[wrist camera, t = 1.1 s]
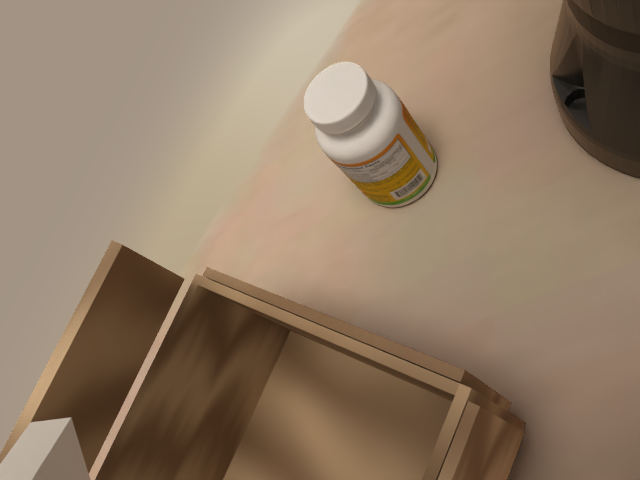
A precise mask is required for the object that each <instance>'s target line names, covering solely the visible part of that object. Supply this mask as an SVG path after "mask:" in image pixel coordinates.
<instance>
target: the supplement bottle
mask: <svg viewBox="0 0 640 480" xmlns="http://www.w3.org/2000/svg"><path fill="white" fill-rule="evenodd" d="M304 110H305V113H306V115H307V117H308V118H309V119H310V120H311V122H312V123H313V124H314V125H315V134H316V139H317V142H318V144H319V146H320V148H321V149H322V151H323V152H324V153H325V154H326V155H327V156H328V157H329V158H330V159H331V160H332V161H333V162H334V163H335V164H336V165H337V166H338V167H339V168H340V169H341V170H342V171H343V172H344V174H345V175H346V176H347V177H348V178H349V179H350V180H351V181H352V182H353V183H354V184H355V185H356V186H357V187H358V188H359V189H360V190H361V191H362V192H363V193H364V194H365V195H366V196H367V197H368V198H369V199H370V200H371V201H373V202H374V203H376V204H378V205H381V206H384V207H400V206H404V205H407V204H409V203H411V202H413V201H415V200H417V199H418V198H419V197H421V196H422V195H423V194H424V193H425V192H426V191H427V190H428V188H429V187H430V185H431V184H432V182H433V180H434V177H435V174H436V170H437V159H436V155H435V152H434V150H433V148H432V146H431V145H430V143H429V142H428V140H427V139H426V137H425V136H424V134H423V133H422V131H421V130H420V128H419V127H418V126H417V124H416V123H415V121H414V120H413V118H412V116H411V115H410V113H409V112H408V110H407V109H406V107H405V106H404V104H403V103H402V101H401V100H400V99H399V97H398V96H397V95H396V93H395V92H394V91H393V90H392V89H391V88H390V87H389V86H388V85H387V84H385V83H383V82H381V81H378V80H375V79H371V78H370V77H369V76H368V74H367V73H366V72H365V70H364V69H363V68H362V67H361V66H359V65H358V64H356V63H352V62H339V63H336V64H333V65H331V66H329V67H327V68H325V69H324V70H322V71H321V72H320V73H319V74H318V75H317V76H316V77H315V78H314V79H313V80H312V82H311V83H310V84H309V86H308V88H307V90H306V93H305V96H304Z"/></svg>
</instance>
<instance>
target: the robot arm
mask: <svg viewBox="0 0 640 480" xmlns="http://www.w3.org/2000/svg"><path fill="white" fill-rule="evenodd" d="M550 77H551V84H552V89H553V93H554V96H555V99H556V103H557V106H558V109H559V112H560V115H561V117H562V120H563V122H564V124H565V126H566V128H567V129H568V131H569V132H570V134H571V135H572V136H573V138H574V139H575V140H576V141H577V142H578V143H579V144H580V145H581V146H582V147H583V148H584V149H585V150H586V151H587V152H588V153H590V154H591V155H592V156H594V157H595V158H596V159H598V160H600V161H601V162H603V163H604V164H606V165H608V166H610V167H612V168H614V169H616V170H619V171H621V172H623V173H626V174H629V175H632V176H635V177H639V178H640V0H563V3H562V7H561V12H560V16H559V20H558V24H557V28H556V33H555V37H554V41H553V45H552V50H551V58H550ZM0 480H90V477H89V474H88V471H87V467H86V464H85V461H84V457H83V454H82V451H81V448H80V444H79V441H78V438H77V434H76V431H75V428H74V424H73V421H72V418H71V417H70V418H62V419H54V420H46V421H38V422H31V423H30V424H29V425H28V427H27V428H26V429H25V431H24V432H23V433H22V435H21V436H20V438H19V439H18V440H17V442H16V443H15V444H14V446H13V447H12V448H11V450H10V451H9V453H8V454H7V455H6V457H5V458H4V459H3V461H2V462H1V464H0Z"/></svg>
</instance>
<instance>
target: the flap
mask: <svg viewBox="0 0 640 480" xmlns="http://www.w3.org/2000/svg"><path fill="white" fill-rule="evenodd" d="M183 281H184V278H182V277H180V276H178V275H176V274H175V273H173V272H171V271H169V270H167V269H165V268H164V267H162V266H160V265H158V264H156V263H155V262H153V261H151V260H149V259H147V258H145V257H143V256H142V255H140V254H138V253H136V252H134V251H133V250H131V249H129V248H127V247H125V246H123V245H121V244H119V243H117V242H115V241H111V243H110V245H109V247H108V249H107V251H106V253H105V255H104V257H103V258H102V261H101V262H100V264H99V266H98V268H97V270H96V272H95V274H94V276H93V278H92V279H91V281H90V283H89V285H88V287H87V289H86V291H85V293H84V295H83V297H82V299H81V301H80V303H79V305H78V306H77V308H76V310H75V312H74V314H73V316H72V318H71V320H70V322H69V324H68V326H67V328H66V330H65V332H64V333H63V335H62V337H61V339H60V341H59V343H58V345H57V347H56V349H55V350H54V353H53V354H52V356H51V358H50V360H49V362H48V364H47V366H46V368H45V370H44V372H43V373H42V375H41V377H40V379H39V381H38V383H37V385H36V387H35V389H34V391H33V393H32V394H31V396H30V398H29V400H28V402H27V404H26V406H25V408H24V410H23V412H22V414H21V416H20V417H19V419H18V421H17V423H16V425H15V427H14V429H13V431H12V433H11V435H10V437H9V439H8V440H7V442H6V444H5V446H4V448H3V450H2V452H1V454H0V464H1V462H2V461H3V459H4V458H5V457H6V455H7V454H8V453H9V451H10V450H11V448H12V447H13V446H14V444H15V443H16V442H17V440H18V439H19V438H20V436H21V435H22V433H23V432H24V431H25V429H26V428H27V427H28V425H29V424H30V423H31V422H38V421H46V420H54V419H62V418H70V417H71V418H72V421H73V424H74V428H75V431H76V434H77V438H78V441H79V444H80V448H81V451H82V454H83V457H84V461H85V464H86V467H87V471H88V474H89V472H90V470H91V468H92V466H93V464H94V462H95V460H96V458H97V456H98V454H99V451H100V449H101V447H102V445H103V443H104V441H105V439H106V437H107V435H108V433H109V431H110V429H111V427H112V425H113V423H114V421H115V419H116V417H117V415H118V413H119V411H120V409H121V407H122V405H123V403H124V401H125V399H126V397H127V395H128V393H129V391H130V389H131V387H132V385H133V383H134V380H135V378H136V376H137V374H138V372H139V370H140V368H141V366H142V364H143V362H144V360H145V358H146V356H147V354H148V352H149V350H150V348H151V346H152V344H153V342H154V340H155V338H156V336H157V334H158V332H159V330H160V328H161V326H162V324H163V322H164V320H165V318H166V316H167V314H168V312H169V309H170V307H171V305H172V303H173V301H174V299H175V297H176V295H177V293H178V291H179V289H180V287H181V285H182V283H183Z"/></svg>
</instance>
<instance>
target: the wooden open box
mask: <svg viewBox="0 0 640 480" xmlns="http://www.w3.org/2000/svg"><path fill="white" fill-rule="evenodd" d="M203 276H204V277H202V276H200V275H198V274H196V275H195V277H194V279H193V281H192V283H191V285H190V287H189V289H188V291H187V293H186V295H185V297H184V299H183V301H182V303H181V306H180V308H179V310H178V312H177V314H176V316H175V318H174V320H173V322H172V324H171V326H170V328H169V330H168V332H167V334H166V336H165V338H164V340H163V342H162V344H161V346H160V348H159V350H158V352H157V354H156V357H155V359H154V361H153V363H152V365H151V367H150V369H149V371H148V373H147V375H146V377H145V379H144V381H143V383H142V385H141V387H140V389H139V391H138V393H137V395H136V397H135V399H134V401H133V403H132V406H131V408H130V410H129V412H128V414H127V416H126V418H125V420H124V422H123V424H122V426H121V428H120V430H119V432H118V434H117V436H116V438H115V440H114V442H113V444H112V446H111V448H110V450H109V452H108V454H107V457H106V459H105V461H104V463H103V465H102V467H101V469H100V471H99V473H98V475H97V477H96V479H95V480H507V479H508V476H509V473H510V471H511V468H512V465H513V463H514V460H515V457H516V454H517V452H518V449H519V446H520V444H521V441H522V438H523V435H524V433H525V432H524V431H523V430H524V427H525V424H526V423H525V422H523V421H522V420H520V419H519V418H517V417H516V416H514V415H512V414H511V413H509V412H508V411H509V408H510V406H511V402H509V401H508V400H507V399H505V398H504V397H502V396H501V395H500V394H498V393H497V392H495V391H494V390H492V389H491V388H490V387H488V386H487V385H485V384H484V383H482V382H481V381H480V380H478V379H477V378H475V377H474V376H473V375H471V374H470V373H468V372H467V371H465V370H463V369H461V368H458V367H456V366H453V365H451V364H448V363H446V362H443V361H441V360H438V359H436V358H433V357H431V356H428V355H426V354H423V353H421V352H418V351H416V350H413V349H411V348H408V347H406V346H403V345H401V344H398V343H396V342H393V341H391V340H388V339H386V338H383V337H381V336H378V335H376V334H373V333H371V332H368V331H366V330H363V329H361V328H358V327H356V326H353V325H351V324H348V323H346V322H343V321H341V320H338V319H336V318H333V317H331V316H328V315H326V314H323V313H321V312H318V311H316V310H313V309H311V308H308V307H306V306H303V305H301V304H298V303H296V302H293V301H291V300H288V299H286V298H283V297H281V296H278V295H276V294H273V293H271V292H268V291H266V290H263V289H261V288H258V287H256V286H253V285H251V284H248V283H246V282H243V281H240V280H238V279H235V278H233V277H230V276H228V275H225V274H223V273H220V272H218V271H215V270H213V269H210V268H208V267H207V268H206V270H205V272H204V274H203ZM205 277H206V278H205ZM207 278H208V279H207Z"/></svg>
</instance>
